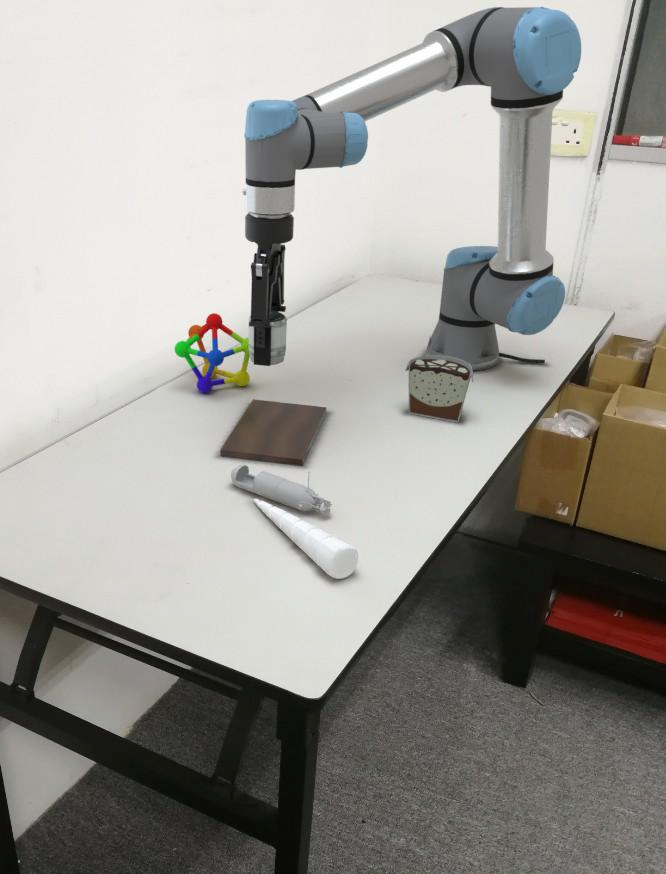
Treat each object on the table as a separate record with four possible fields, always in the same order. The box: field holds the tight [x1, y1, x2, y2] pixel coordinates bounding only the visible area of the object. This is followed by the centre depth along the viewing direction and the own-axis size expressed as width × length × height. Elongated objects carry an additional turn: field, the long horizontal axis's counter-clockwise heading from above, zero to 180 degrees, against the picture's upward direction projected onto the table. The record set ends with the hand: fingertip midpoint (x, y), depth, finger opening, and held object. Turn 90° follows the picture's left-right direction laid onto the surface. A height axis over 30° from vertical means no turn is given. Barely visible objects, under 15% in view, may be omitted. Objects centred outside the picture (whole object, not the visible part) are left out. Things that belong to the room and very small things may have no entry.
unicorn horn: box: [253, 498, 359, 580], centre depth 121 cm, size 5×24×5 cm, turn 27°
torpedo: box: [230, 464, 333, 515], centre depth 129 cm, size 18×5×6 cm, turn 54°
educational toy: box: [174, 312, 251, 394], centre depth 164 cm, size 16×13×15 cm
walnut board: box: [220, 399, 327, 467], centre depth 151 cm, size 14×22×1 cm, turn 166°
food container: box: [405, 354, 474, 423], centre depth 157 cm, size 12×6×10 cm, turn 65°
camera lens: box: [248, 310, 288, 366], centre depth 142 cm, size 6×6×8 cm
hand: (267, 357), depth 144 cm, fingers closed on camera lens, 6 cm apart
